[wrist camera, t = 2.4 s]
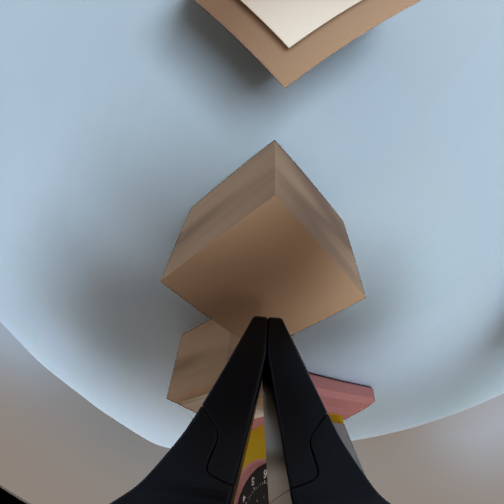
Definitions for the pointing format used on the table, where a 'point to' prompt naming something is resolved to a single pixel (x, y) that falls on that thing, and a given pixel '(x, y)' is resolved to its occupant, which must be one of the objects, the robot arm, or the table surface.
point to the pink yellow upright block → (338, 407)
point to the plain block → (265, 249)
